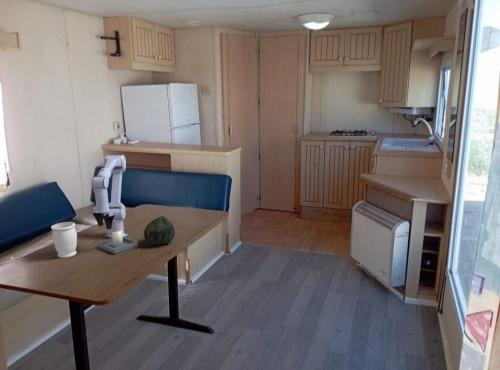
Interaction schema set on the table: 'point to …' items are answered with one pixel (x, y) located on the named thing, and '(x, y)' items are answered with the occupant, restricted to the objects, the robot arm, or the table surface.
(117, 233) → the cup
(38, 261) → the table surface
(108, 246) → the tray
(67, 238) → the jar
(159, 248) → the table surface
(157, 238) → the squash
